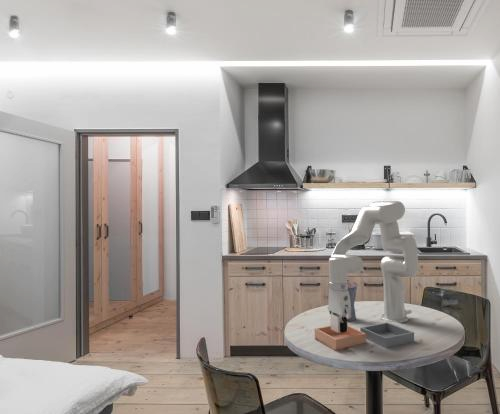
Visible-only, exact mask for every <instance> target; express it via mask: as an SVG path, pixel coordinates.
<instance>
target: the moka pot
mask: <svg viewBox="0 0 500 414" xmlns="http://www.w3.org/2000/svg"><path fill="white" fill-rule="evenodd" d="M347 287H348V291H349V295H350V303H351V318H350V319H349V320H348V322H350V323H351V322H355V321H356V320H357V317H356V316H357V315H356V308H355V302H356V296H357V288H358V286H357V284H356V283H351V282H349V279H347ZM343 314H344V313H343Z"/></svg>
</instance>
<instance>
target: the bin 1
mask: <svg viewBox="0 0 500 414" xmlns="http://www.w3.org/2000/svg"><path fill="white" fill-rule="evenodd" d="M314 340H315V341H318V342H319V343H321V344H323V345H324V346H326V347H327V348H330V349H332V350H333V351H334V352H338V351H339V352H340V351H343V350H347V349H350V347H352V346H357V345H361V344H367V339H366V333H363V332H361V331H360V330H359V329H356V328H355V327H353V326H350V325H348V331H346V332H340V333H337V332H335V331H333V330H331V325H328V326H327V325H326V326H322V327H315V328H314Z"/></svg>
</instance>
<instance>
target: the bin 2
mask: <svg viewBox="0 0 500 414" xmlns="http://www.w3.org/2000/svg"><path fill="white" fill-rule="evenodd" d="M359 331H361V332H363V333H366V340H368V341H370V342H372V343H375V344H377V345H379V346H381V347H383V348H385V349H388V348H392V347H396V346H397V347H398V346H401V345H405V344H411V343H414V342H415V332H414V331H411V330H409V329H406V328H404V327H401V326H398V325H395V324H392V323H391V322H389V321H388V322H387V321H386V322H383V323H381V322H380V323H376V324H372V325H367V326H362V327H360V330H359Z"/></svg>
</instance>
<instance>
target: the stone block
mask: <svg viewBox="0 0 500 414" xmlns="http://www.w3.org/2000/svg"><path fill="white" fill-rule="evenodd" d="M329 316H330V326H331V330H333V331H335V332H337V333H340V322H341V320H340V315H338V314H334V315H330V314H329ZM343 318H344V316H343ZM348 322H349V321H348ZM348 322H347V331H348V326H349V323H348Z"/></svg>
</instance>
